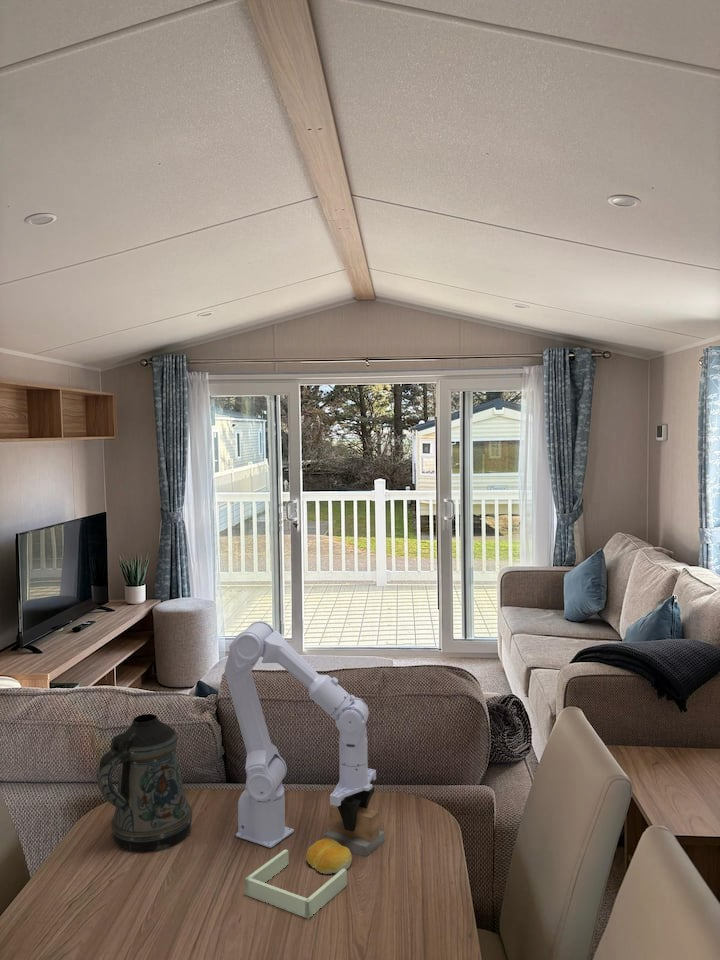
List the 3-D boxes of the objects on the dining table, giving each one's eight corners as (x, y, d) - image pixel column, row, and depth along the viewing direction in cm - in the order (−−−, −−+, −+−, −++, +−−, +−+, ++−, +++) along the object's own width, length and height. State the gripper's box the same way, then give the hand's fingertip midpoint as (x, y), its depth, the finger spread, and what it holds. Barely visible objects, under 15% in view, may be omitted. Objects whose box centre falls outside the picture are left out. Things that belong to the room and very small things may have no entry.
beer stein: (204, 817, 176) (201, 705, 174) (167, 865, 157) (163, 739, 155) (133, 812, 179) (130, 701, 177) (89, 858, 160) (84, 734, 158)
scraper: (324, 843, 164) (324, 810, 164) (343, 828, 170) (342, 796, 170) (366, 856, 159) (366, 822, 159) (384, 841, 165) (384, 807, 164)
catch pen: (245, 894, 146) (244, 878, 146) (285, 864, 157) (285, 849, 156) (308, 919, 139) (308, 902, 139) (346, 885, 149) (346, 869, 149)
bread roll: (328, 881, 151) (328, 860, 151) (299, 862, 158) (299, 842, 157) (361, 865, 156) (361, 845, 156) (332, 847, 163) (332, 828, 163)
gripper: (350, 778, 155) (351, 846, 156) (388, 752, 168) (388, 815, 168) (320, 770, 159) (321, 837, 160) (359, 745, 171) (360, 807, 172)
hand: (354, 825), depth 164 cm, fingers closed on scraper, 3 cm apart
